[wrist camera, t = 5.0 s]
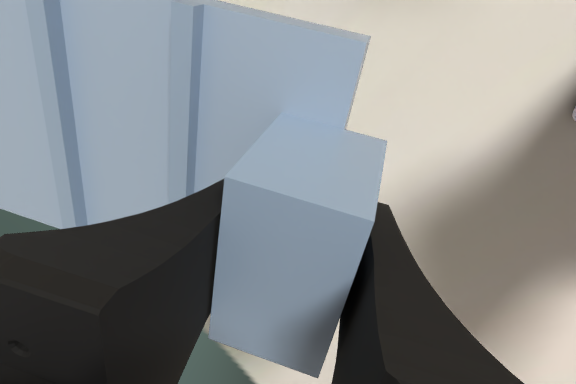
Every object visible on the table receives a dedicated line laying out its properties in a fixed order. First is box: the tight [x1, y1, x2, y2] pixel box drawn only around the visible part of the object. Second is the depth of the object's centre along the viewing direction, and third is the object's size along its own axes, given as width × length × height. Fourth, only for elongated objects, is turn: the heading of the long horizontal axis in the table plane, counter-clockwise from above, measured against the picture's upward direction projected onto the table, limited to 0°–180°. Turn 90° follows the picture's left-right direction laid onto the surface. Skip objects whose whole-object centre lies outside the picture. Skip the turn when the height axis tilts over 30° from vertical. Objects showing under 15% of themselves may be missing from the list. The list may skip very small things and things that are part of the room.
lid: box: [0, 0, 387, 378], centre depth 12 cm, size 15×10×5 cm, turn 79°
